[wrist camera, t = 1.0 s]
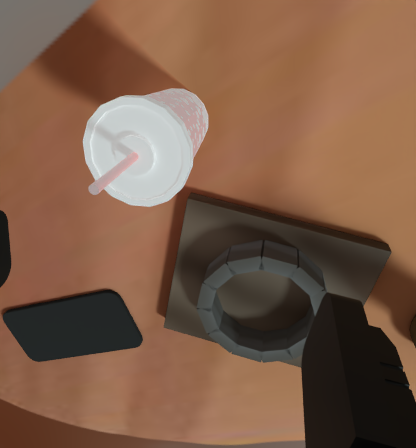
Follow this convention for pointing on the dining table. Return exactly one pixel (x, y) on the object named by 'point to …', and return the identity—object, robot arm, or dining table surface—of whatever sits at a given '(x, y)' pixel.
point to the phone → (74, 326)
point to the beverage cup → (144, 145)
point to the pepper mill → (413, 330)
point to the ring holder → (262, 277)
